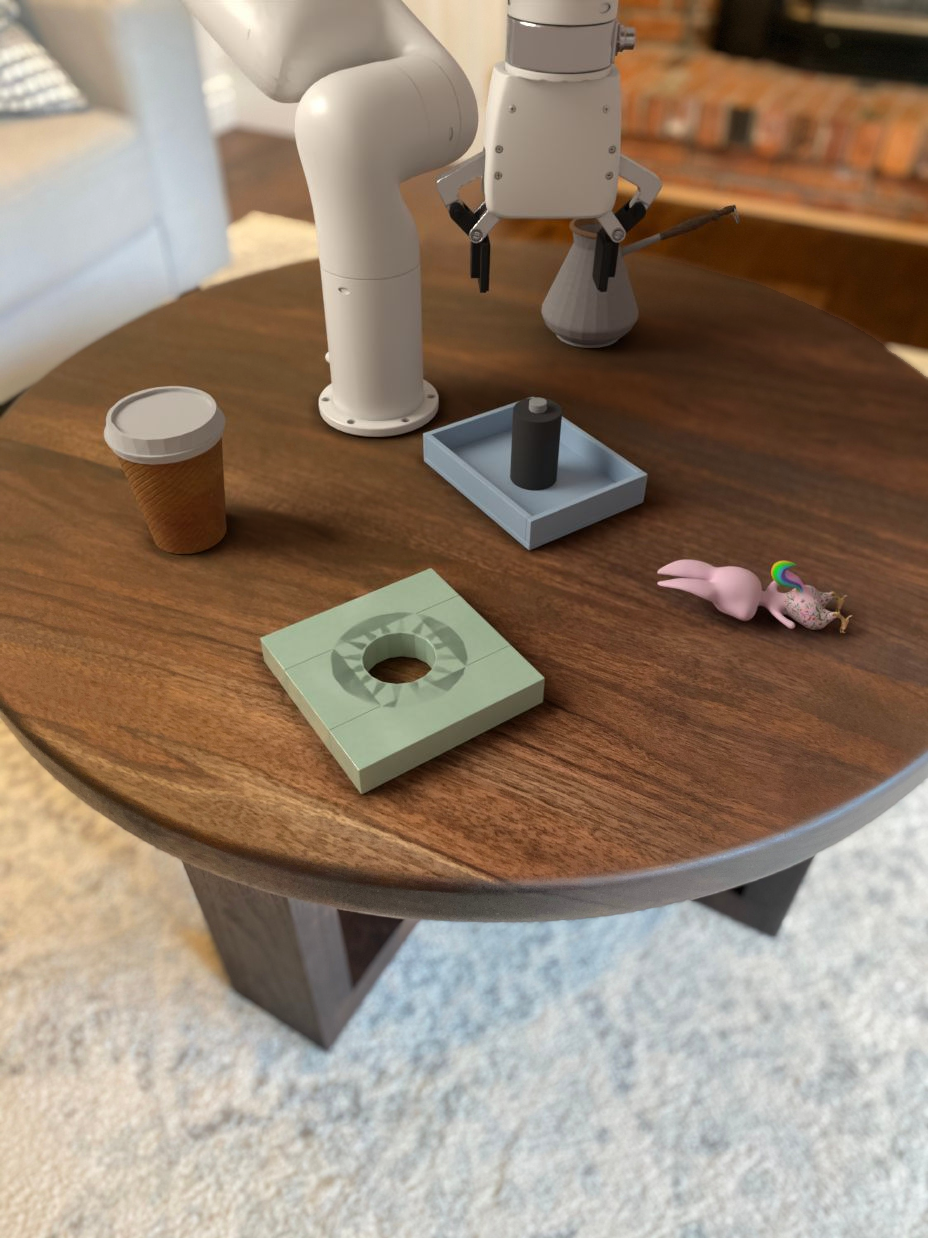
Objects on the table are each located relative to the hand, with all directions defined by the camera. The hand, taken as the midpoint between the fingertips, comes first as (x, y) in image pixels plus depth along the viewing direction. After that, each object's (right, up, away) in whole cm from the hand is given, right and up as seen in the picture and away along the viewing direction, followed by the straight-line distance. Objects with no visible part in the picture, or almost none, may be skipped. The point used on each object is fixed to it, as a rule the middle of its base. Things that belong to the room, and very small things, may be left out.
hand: (541, 285), depth 77 cm
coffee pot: (+13, +7, +36) cm, 39 cm away
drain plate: (-11, -32, -8) cm, 35 cm away
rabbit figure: (+16, -27, -2) cm, 32 cm away
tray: (0, -14, +12) cm, 19 cm away
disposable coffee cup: (-30, -20, +6) cm, 37 cm away
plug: (0, -14, +12) cm, 18 cm away
